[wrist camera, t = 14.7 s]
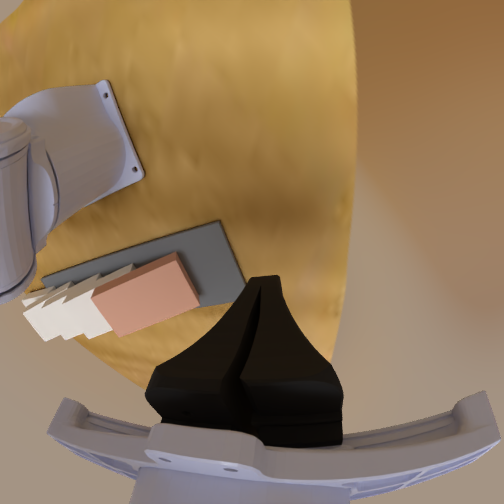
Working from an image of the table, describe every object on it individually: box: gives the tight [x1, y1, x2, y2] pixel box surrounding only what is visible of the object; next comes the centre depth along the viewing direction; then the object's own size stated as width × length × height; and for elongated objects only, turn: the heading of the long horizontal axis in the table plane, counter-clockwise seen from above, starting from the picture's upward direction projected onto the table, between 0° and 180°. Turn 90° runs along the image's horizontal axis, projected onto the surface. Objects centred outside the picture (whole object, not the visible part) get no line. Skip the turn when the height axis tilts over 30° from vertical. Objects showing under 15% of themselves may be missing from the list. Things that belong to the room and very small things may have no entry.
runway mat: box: [41, 221, 246, 309], centre depth 27 cm, size 8×27×1 cm, turn 108°
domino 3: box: [41, 273, 103, 340], centre depth 27 cm, size 5×2×9 cm
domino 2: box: [23, 281, 74, 342], centre depth 28 cm, size 5×2×9 cm
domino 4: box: [62, 263, 136, 339], centre depth 25 cm, size 5×2×9 cm
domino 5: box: [90, 252, 200, 337], centre depth 24 cm, size 5×2×9 cm
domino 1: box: [22, 286, 56, 307], centre depth 30 cm, size 5×2×9 cm
